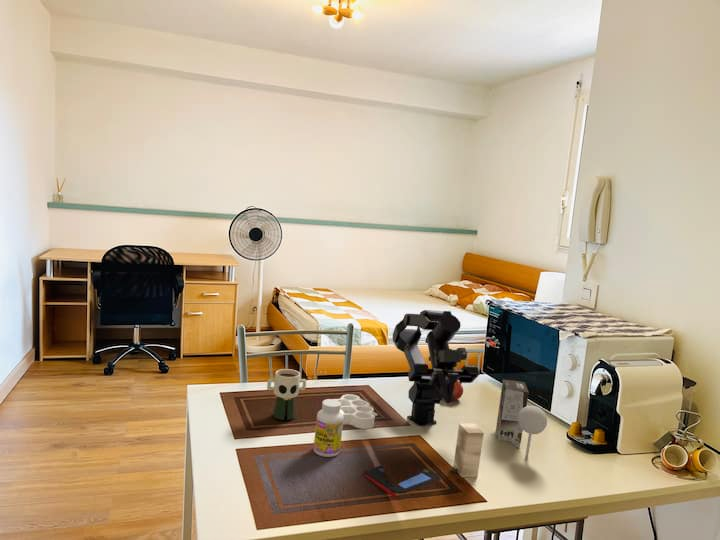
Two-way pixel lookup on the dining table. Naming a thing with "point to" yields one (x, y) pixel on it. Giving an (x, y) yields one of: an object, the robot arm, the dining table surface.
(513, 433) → the coffee box
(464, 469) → the white rectangular box
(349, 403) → the white cup cluster
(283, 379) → the character mug
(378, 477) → the game console
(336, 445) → the supplement bottle
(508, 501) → the dining table surface
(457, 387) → the pomegranate
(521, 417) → the lollipop
